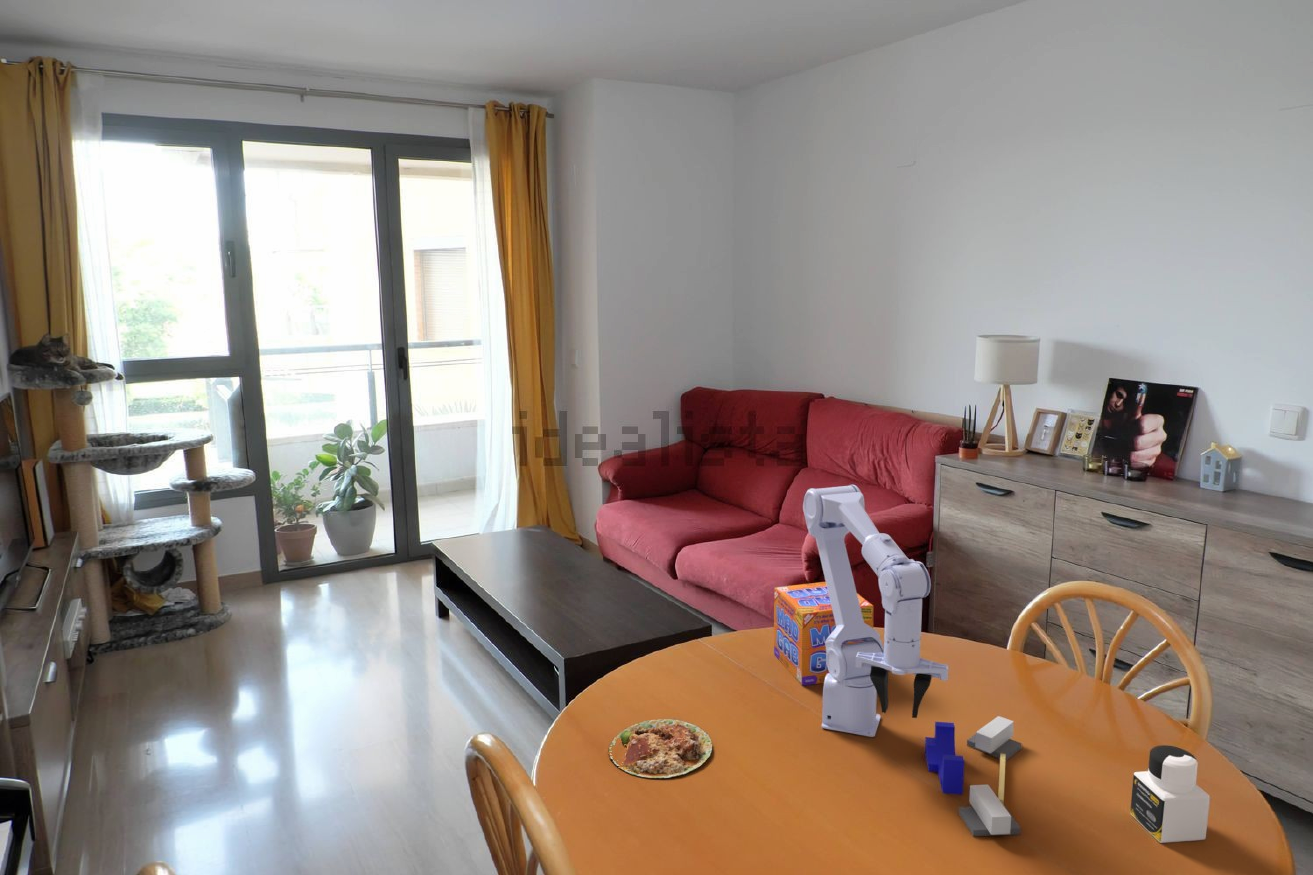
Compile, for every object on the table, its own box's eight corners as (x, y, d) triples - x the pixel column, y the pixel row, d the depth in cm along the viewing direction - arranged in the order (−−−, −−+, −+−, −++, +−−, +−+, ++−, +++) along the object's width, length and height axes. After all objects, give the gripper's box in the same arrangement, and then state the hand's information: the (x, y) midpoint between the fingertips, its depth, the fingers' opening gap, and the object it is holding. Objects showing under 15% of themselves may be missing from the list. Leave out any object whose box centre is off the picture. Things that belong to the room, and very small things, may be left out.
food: (686, 792, 140) (686, 775, 140) (592, 769, 148) (591, 753, 147) (727, 737, 156) (726, 721, 156) (640, 719, 164) (639, 704, 163)
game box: (839, 646, 193) (840, 579, 190) (872, 677, 178) (874, 604, 175) (773, 654, 189) (773, 586, 187) (801, 686, 175) (802, 613, 172)
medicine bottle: (1128, 814, 132) (1135, 741, 130) (1173, 810, 132) (1180, 738, 130) (1159, 844, 125) (1166, 767, 123) (1206, 840, 125) (1214, 764, 123)
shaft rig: (955, 833, 128) (957, 809, 127) (968, 730, 156) (969, 711, 156) (1020, 847, 125) (1021, 823, 124) (1021, 739, 153) (1022, 719, 152)
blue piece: (924, 752, 150) (926, 720, 149) (952, 755, 149) (953, 722, 148) (932, 792, 138) (934, 758, 137) (962, 795, 138) (964, 760, 136)
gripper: (853, 638, 141) (851, 715, 144) (947, 651, 136) (943, 732, 138) (860, 622, 148) (858, 696, 150) (950, 634, 142) (947, 711, 144)
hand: (899, 712), depth 144 cm, fingers open, 4 cm apart
